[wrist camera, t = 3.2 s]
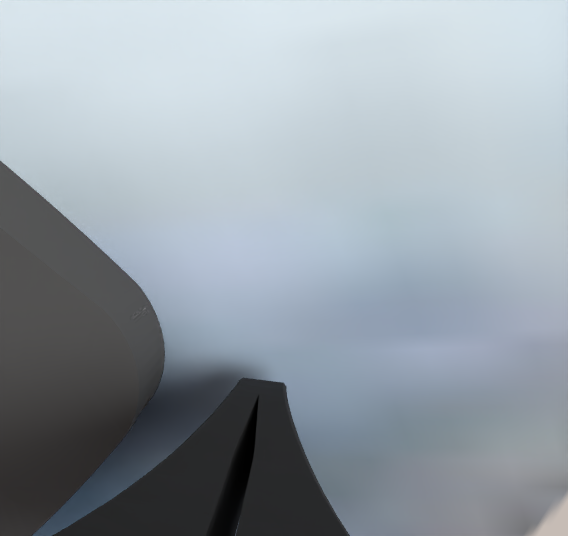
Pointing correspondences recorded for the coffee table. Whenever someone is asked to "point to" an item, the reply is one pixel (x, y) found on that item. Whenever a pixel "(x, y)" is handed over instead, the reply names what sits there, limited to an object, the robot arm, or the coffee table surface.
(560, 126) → the coffee table surface
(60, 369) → the media streaming box
